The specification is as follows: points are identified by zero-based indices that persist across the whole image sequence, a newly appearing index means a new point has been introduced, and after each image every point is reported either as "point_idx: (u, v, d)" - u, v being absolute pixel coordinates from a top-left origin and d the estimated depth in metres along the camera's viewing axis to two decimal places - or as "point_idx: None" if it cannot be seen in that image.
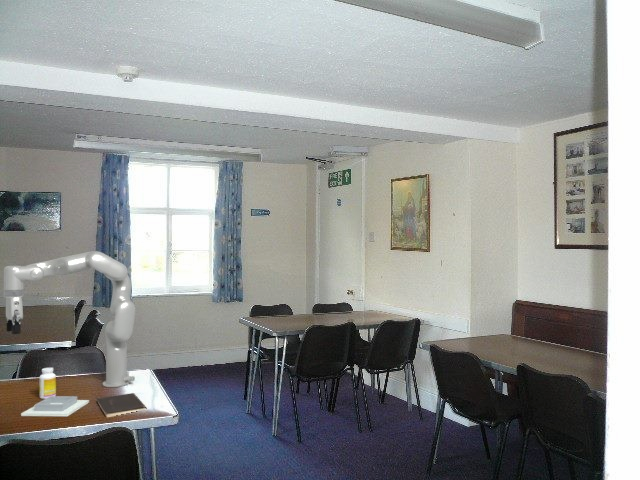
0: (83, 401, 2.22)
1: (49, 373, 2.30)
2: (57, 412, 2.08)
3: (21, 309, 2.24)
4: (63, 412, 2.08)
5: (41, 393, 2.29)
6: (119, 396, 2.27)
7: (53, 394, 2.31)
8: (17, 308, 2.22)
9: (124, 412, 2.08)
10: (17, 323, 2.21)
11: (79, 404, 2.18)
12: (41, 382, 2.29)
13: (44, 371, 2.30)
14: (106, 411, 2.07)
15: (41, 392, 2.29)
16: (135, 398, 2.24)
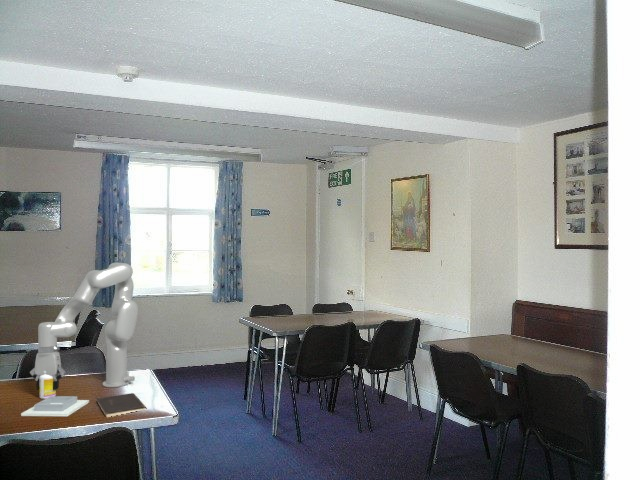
0: (83, 401, 2.22)
1: None
2: (57, 412, 2.08)
3: (60, 363, 2.34)
4: (63, 412, 2.08)
5: (41, 393, 2.29)
6: (119, 396, 2.27)
7: (53, 394, 2.31)
8: (59, 363, 2.32)
9: (124, 412, 2.08)
10: (59, 378, 2.32)
11: (79, 404, 2.18)
12: (41, 382, 2.29)
13: (44, 371, 2.30)
14: (106, 411, 2.07)
15: (41, 392, 2.29)
16: (135, 398, 2.24)
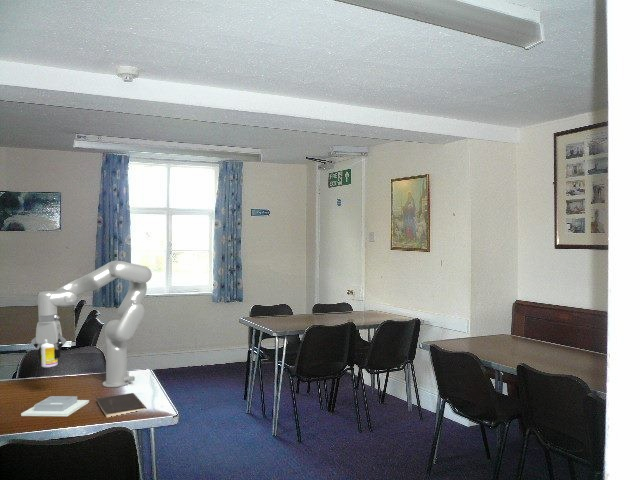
0: (83, 401, 2.22)
1: None
2: (57, 412, 2.08)
3: (61, 332, 2.34)
4: (63, 412, 2.08)
5: (43, 362, 2.29)
6: (119, 396, 2.27)
7: (55, 363, 2.31)
8: (59, 331, 2.32)
9: (124, 412, 2.08)
10: (60, 347, 2.32)
11: (79, 404, 2.18)
12: (42, 351, 2.29)
13: (45, 340, 2.30)
14: (106, 411, 2.07)
15: (43, 361, 2.29)
16: (135, 398, 2.24)
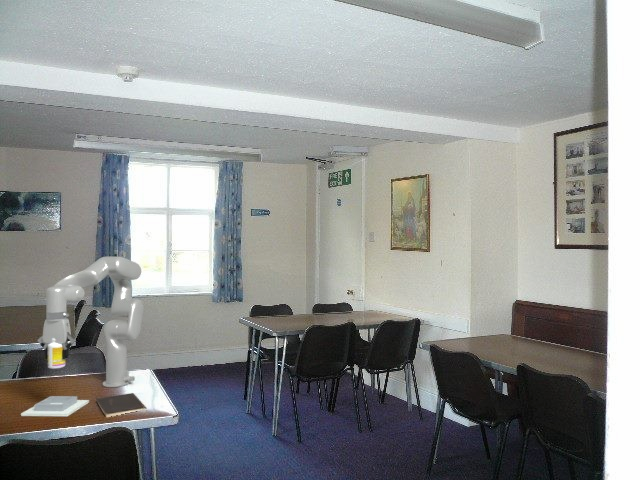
0: (83, 401, 2.22)
1: None
2: (57, 412, 2.08)
3: (70, 331, 2.17)
4: (63, 412, 2.08)
5: (50, 362, 2.12)
6: (119, 396, 2.27)
7: (62, 364, 2.14)
8: (68, 330, 2.16)
9: (124, 412, 2.08)
10: (69, 347, 2.15)
11: (79, 404, 2.18)
12: (49, 351, 2.12)
13: (53, 339, 2.13)
14: (106, 411, 2.07)
15: (50, 361, 2.12)
16: (135, 398, 2.24)
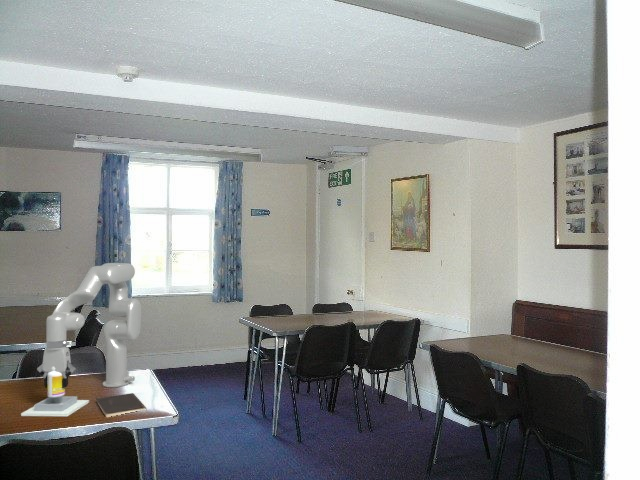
0: (83, 401, 2.22)
1: None
2: (57, 412, 2.08)
3: (70, 359, 2.17)
4: (63, 412, 2.08)
5: (49, 391, 2.12)
6: (118, 396, 2.27)
7: (62, 392, 2.14)
8: (68, 358, 2.16)
9: (124, 412, 2.08)
10: (68, 375, 2.15)
11: (79, 404, 2.18)
12: (49, 379, 2.12)
13: (52, 367, 2.13)
14: (106, 411, 2.07)
15: (49, 390, 2.12)
16: (134, 398, 2.24)
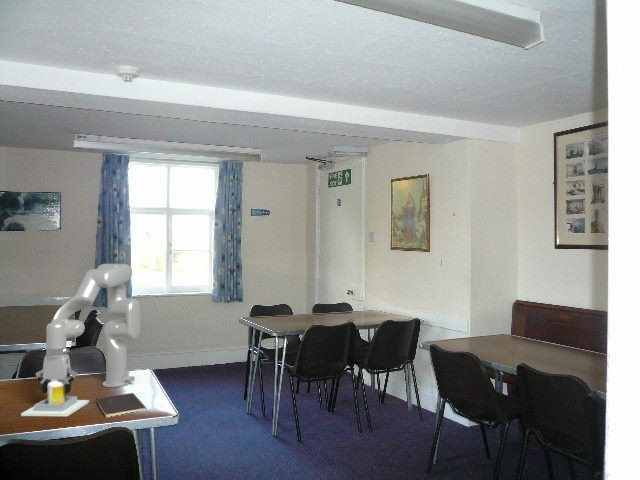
0: (83, 401, 2.22)
1: (58, 380, 2.14)
2: (57, 412, 2.08)
3: (70, 366, 2.17)
4: (63, 412, 2.08)
5: (49, 402, 2.12)
6: (118, 396, 2.27)
7: (62, 403, 2.15)
8: (68, 366, 2.16)
9: (123, 412, 2.08)
10: (71, 381, 2.15)
11: (79, 404, 2.18)
12: (49, 390, 2.12)
13: None
14: (105, 411, 2.07)
15: (49, 401, 2.12)
16: (134, 398, 2.24)
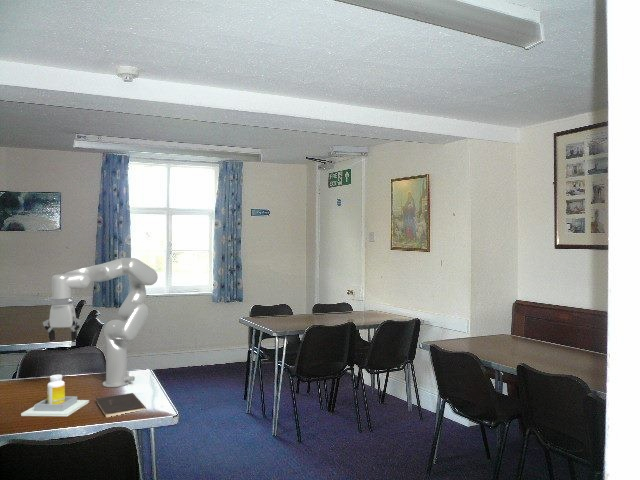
0: (83, 401, 2.22)
1: (58, 380, 2.14)
2: (57, 412, 2.08)
3: (75, 315, 2.31)
4: (63, 412, 2.08)
5: (49, 402, 2.12)
6: (118, 396, 2.27)
7: (62, 403, 2.15)
8: (73, 315, 2.29)
9: (123, 412, 2.08)
10: (77, 329, 2.29)
11: (79, 404, 2.18)
12: (49, 390, 2.12)
13: (52, 378, 2.13)
14: (105, 411, 2.07)
15: (49, 401, 2.12)
16: (134, 398, 2.24)
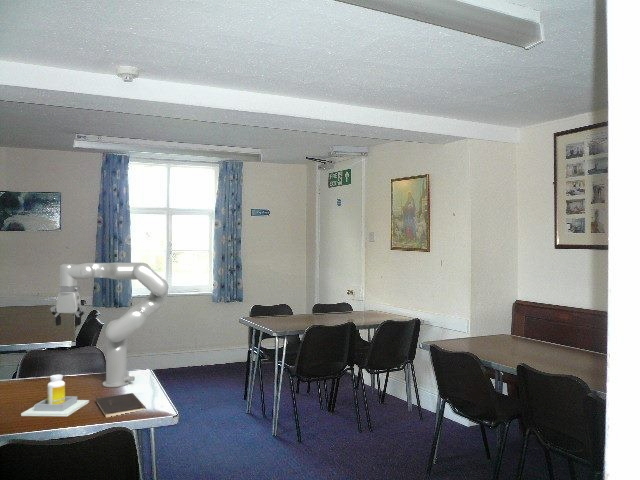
0: (83, 401, 2.22)
1: (58, 380, 2.14)
2: (57, 412, 2.08)
3: (80, 303, 2.48)
4: (63, 412, 2.08)
5: (49, 402, 2.12)
6: (118, 396, 2.27)
7: (62, 403, 2.15)
8: (79, 302, 2.46)
9: (123, 412, 2.08)
10: (81, 315, 2.46)
11: (79, 404, 2.18)
12: (50, 390, 2.12)
13: (53, 378, 2.13)
14: (105, 411, 2.07)
15: (49, 401, 2.12)
16: (134, 398, 2.24)
